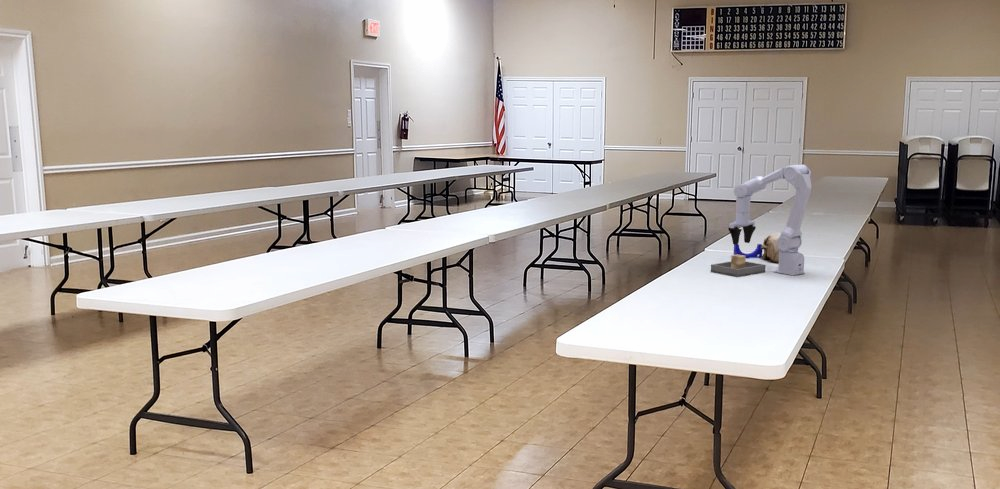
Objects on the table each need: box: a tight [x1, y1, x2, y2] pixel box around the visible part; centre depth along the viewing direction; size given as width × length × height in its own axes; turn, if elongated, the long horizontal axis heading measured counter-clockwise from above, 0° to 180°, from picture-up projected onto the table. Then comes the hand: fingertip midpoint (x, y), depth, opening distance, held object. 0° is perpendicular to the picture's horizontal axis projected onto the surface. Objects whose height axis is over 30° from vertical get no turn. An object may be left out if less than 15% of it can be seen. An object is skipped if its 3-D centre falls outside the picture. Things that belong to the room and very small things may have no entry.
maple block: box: [730, 254, 747, 269], centre depth 345 cm, size 4×4×6 cm
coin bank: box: [761, 232, 781, 264], centre depth 371 cm, size 16×17×13 cm
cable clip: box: [733, 243, 763, 259], centre depth 379 cm, size 12×4×6 cm, turn 88°
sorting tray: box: [710, 260, 767, 278], centre depth 345 cm, size 14×18×3 cm
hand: (741, 243), depth 359 cm, fingers open, 7 cm apart
